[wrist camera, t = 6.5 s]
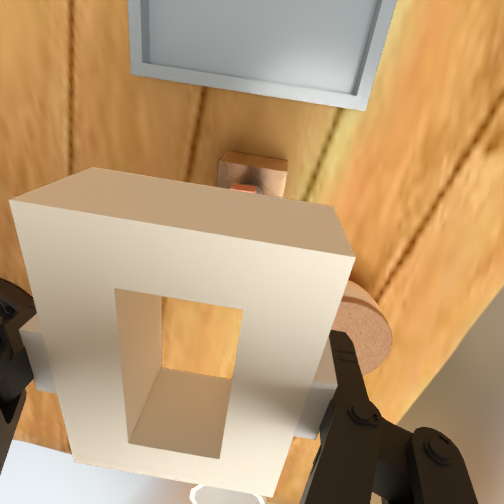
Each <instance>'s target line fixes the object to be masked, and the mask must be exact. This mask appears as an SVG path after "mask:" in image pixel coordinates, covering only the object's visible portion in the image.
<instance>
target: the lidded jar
mask: <svg viewBox="0 0 504 504" xmlns="http://www.w3.org/2000/svg"><path fill="white" fill-rule="evenodd" d="M331 330H336V331H342V332H346V334H347V335H348V336H349V338H350V339H351V340H352V342H353V344H354V347H355V351H356V355H357V358H358V364H359V366H360V369H361V373H362V376H363V375H366V374H368V373H370V372H372V371H373V370H374V369H376V368H377V367H378V366H379V365H381V364H382V363H383V361H384V360H385V359H386V357H387V356H388V354H389V352H390V350H391V346H392V333H391V329H390V327H389V325H388V322H387V320H386V319H385V317H384V316H383V314H382V312H381V310H380V308H379V306H378V305H377V303H376V302H375V301H374V299H373V298H372V296H371V295H370V294H369V293H368V292H367V291H366V290H365V289H364V288H362V287H361V286H359V285H358V284H356V283H354V282H352V281H350V280H348V282H347V284H346V287H345V290H344V293H343V296H342V299H341V302H340V305H339V307H338V310H337V313H336V316H335V319H334V322H333V325H332V327H331Z"/></svg>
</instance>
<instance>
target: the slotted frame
mask: <svg viewBox="0 0 504 504" xmlns="http://www.w3.org/2000/svg"><path fill="white" fill-rule="evenodd" d="M9 203H10V207H11V211H12V215H13V219H14V223H15V227H16V231H17V235H18V239H19V243H20V247H21V251H22V255H23V259H24V263H25V267H26V271H27V275H28V279H29V283H30V287H31V291H32V295H33V299H34V303H35V307H36V311H37V315H38V319H39V323H40V327H41V331H42V335H43V339H44V343H45V347H46V351H47V355H48V359H49V363H50V367H51V371H52V375H53V379H54V383H55V387H56V391H57V395H58V399H59V403H60V407H61V411H62V415H63V419H64V423H65V427H66V431H67V435H68V439H69V443H70V447H71V451H72V455H73V459H74V462H76V463H82V464H87V465H93V466H98V467H104V468H109V469H115V470H121V471H127V472H132V473H138V474H143V475H149V476H155V477H160V478H166V479H171V480H177V481H183V482H188V483H194V484H199V485H205V486H211V487H216V488H222V489H228V490H233V491H239V492H244V493H250V494H256V495H261V496H267V497H273V494H274V491H275V488H276V485H277V483H278V480H279V477H280V474H281V471H282V468H283V465H284V462H285V460H286V457H287V454H288V451H289V448H290V445H291V442H292V439H293V437H294V436H293V434H294V431H295V428H296V426H297V423H298V420H299V417H300V414H301V411H302V408H303V405H304V402H305V399H306V396H307V393H308V390H309V387H310V384H311V381H313V379H314V376H315V373H316V371H317V368H318V365H319V362H320V359H321V356H322V353H323V350H324V348H325V345H326V342H327V339H328V336H329V333H330V330H331V327H332V325H333V322H334V319H335V316H336V313H337V310H338V307H339V305H340V302H341V299H342V296H343V293H344V290H345V287H346V284H347V282H348V279H349V276H350V273H351V270H352V267H353V264H354V261H355V259H356V257H355V254H354V252H353V250H352V248H351V245H350V243H349V241H348V239H347V236H346V234H345V232H344V230H343V227H342V225H341V223H340V221H339V218H338V216H337V214H336V212H335V209H334V207H333V206H329V205H323V204H317V203H311V202H305V201H299V200H292V199H286V198H280V197H274V196H268V195H262V194H256V193H250V192H244V191H238V190H232V189H226V188H219V187H213V186H207V185H201V184H195V183H189V182H183V181H177V180H171V179H165V178H159V177H153V176H147V175H140V174H134V173H128V172H122V171H116V170H110V169H104V168H98V167H91V168H89V169H86V170H83V171H81V172H78V173H76V174H73V175H71V176H68V177H65V178H63V179H60V180H58V181H55V182H53V183H50V184H47V185H45V186H42V187H40V188H37V189H35V190H32V191H29V192H27V193H24V194H22V195H19V196H17V197H14V198H12V199H9ZM162 296H165V297H171V298H177V299H183V300H188V301H194V302H200V303H206V304H212V305H218V306H224V307H230V308H236V309H241V310H244V311H243V318H242V324H241V330H240V336H239V342H238V348H237V355H236V361H235V367H234V373H233V379H226V378H221V377H215V376H209V375H203V374H197V373H192V372H186V371H180V370H174V369H168V368H163V367H162Z"/></svg>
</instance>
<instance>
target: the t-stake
mask: <svg viewBox="0 0 504 504" xmlns="http://www.w3.org/2000/svg"><path fill="white" fill-rule="evenodd" d="M287 173H288V160H282V159H276V158H269V157H263V156H257V155H251V154H245V153H238V152H232V151H228V152H227V153H226V154H225V155H224V156H223V157H222V158H220V159H219V160H218V170H217V182H216V187H219V188H226V189H232V190H238V191H244V192H250V193H256V194H262V195H268V196H274V197H280V198H283V194H284V188H285V183H286V178H287Z"/></svg>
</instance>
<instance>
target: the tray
mask: <svg viewBox="0 0 504 504" xmlns="http://www.w3.org/2000/svg"><path fill="white" fill-rule="evenodd" d="M396 2H397V0H128V19H129V41H130V63H131V75H137V76H143V77H149V78H156V79H162V80H169V81H175V82H181V83H188V84H194V85H201V86H207V87H213V88H220V89H226V90H233V91H239V92H245V93H252V94H258V95H265V96H271V97H277V98H284V99H290V100H297V101H303V102H309V103H316V104H322V105H329V106H335V107H341V108H348V109H354V110H361V111H365V110H366V107H367V103H368V100H369V96H370V93H371V89H372V86H373V82H374V79H375V75H376V72H377V68H378V65H379V61H380V58H381V54H382V51H383V47H384V44H385V40H386V37H387V33H388V30H389V26H390V23H391V19H392V16H393V12H394V9H395V5H396Z"/></svg>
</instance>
